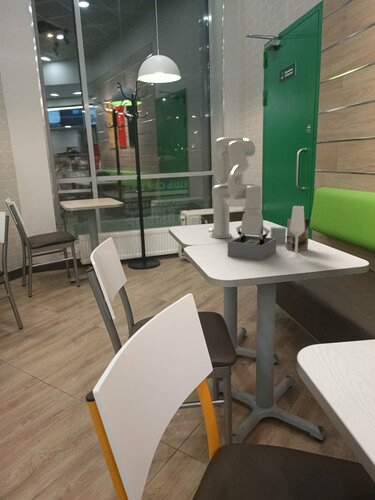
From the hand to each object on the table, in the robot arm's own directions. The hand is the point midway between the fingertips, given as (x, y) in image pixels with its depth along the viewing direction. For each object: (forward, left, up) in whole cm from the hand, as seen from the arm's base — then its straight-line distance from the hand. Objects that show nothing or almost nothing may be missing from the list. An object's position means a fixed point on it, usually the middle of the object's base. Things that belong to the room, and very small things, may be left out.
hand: (252, 245), depth 175 cm
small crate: (0, 0, -3) cm, 3 cm away
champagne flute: (+20, +6, -5) cm, 21 cm away
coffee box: (+16, +20, -5) cm, 26 cm away
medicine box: (+2, +30, -5) cm, 30 cm away
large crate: (0, 0, -4) cm, 4 cm away
